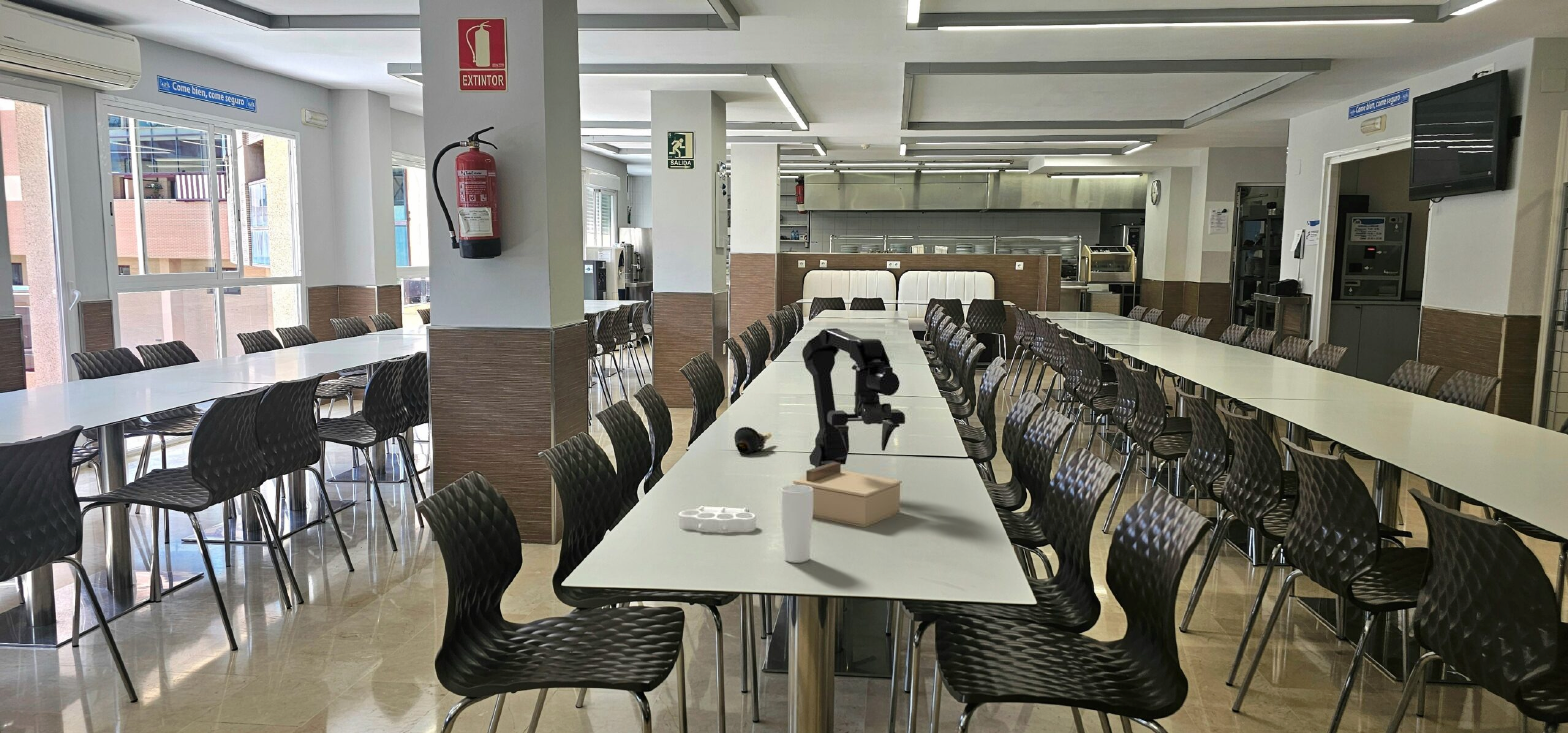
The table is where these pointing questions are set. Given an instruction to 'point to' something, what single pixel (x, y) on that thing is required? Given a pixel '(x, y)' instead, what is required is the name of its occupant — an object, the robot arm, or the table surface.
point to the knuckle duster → (718, 519)
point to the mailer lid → (845, 480)
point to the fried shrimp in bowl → (749, 440)
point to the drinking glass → (797, 521)
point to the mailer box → (856, 506)
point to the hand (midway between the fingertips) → (865, 451)
